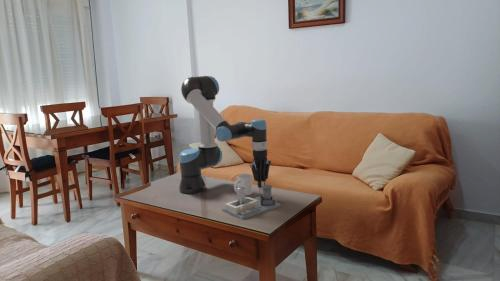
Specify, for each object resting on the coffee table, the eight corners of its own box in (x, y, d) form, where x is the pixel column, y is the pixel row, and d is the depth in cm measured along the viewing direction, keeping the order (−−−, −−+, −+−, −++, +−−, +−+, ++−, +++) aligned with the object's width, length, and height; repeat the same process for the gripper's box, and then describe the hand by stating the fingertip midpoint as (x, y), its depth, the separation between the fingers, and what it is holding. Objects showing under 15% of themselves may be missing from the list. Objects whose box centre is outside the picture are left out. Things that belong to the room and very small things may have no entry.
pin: (236, 208, 185) (234, 188, 184) (242, 206, 188) (240, 186, 187) (241, 209, 183) (240, 189, 181) (247, 207, 185) (246, 187, 184)
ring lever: (259, 193, 205) (259, 189, 204) (272, 192, 205) (272, 188, 204) (261, 205, 187) (260, 200, 186) (274, 204, 187) (274, 200, 186)
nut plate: (222, 210, 187) (220, 191, 185) (259, 198, 201) (258, 180, 200) (242, 219, 174) (240, 198, 173) (280, 205, 189) (279, 186, 187)
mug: (240, 198, 202) (238, 180, 201) (229, 195, 208) (228, 177, 206) (255, 193, 211) (255, 175, 209) (245, 190, 216) (244, 172, 215)
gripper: (254, 152, 191) (256, 197, 195) (274, 148, 198) (275, 191, 202) (245, 150, 196) (247, 194, 201) (264, 146, 204) (266, 188, 208)
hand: (261, 192), depth 202 cm, fingers closed
